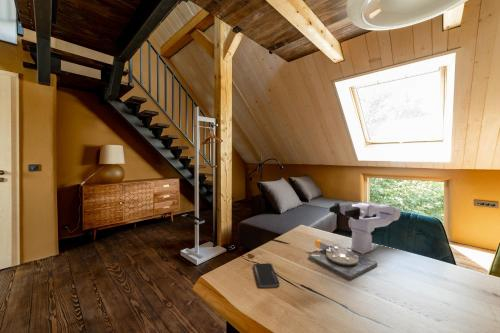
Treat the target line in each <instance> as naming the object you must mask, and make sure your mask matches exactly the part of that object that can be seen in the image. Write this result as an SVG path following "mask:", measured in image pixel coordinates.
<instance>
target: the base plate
mask: <svg viewBox="0 0 500 333" xmlns="http://www.w3.org/2000/svg"><path fill="white" fill-rule="evenodd" d="M334 247H338V248H342V249H345V248H343V247H342V246H339V245H337V244H335V245H332V248H334ZM354 253H355V252H354ZM355 254H357V255H358V256H359V261H358V263H357V264H356V265H351V266H347V265H340V264H337V263H334V262H332V261H330V260H329V259H328V258H327V257H326V251H324V250H322V249H320V250H318V251H316V252H312V253H310V254H308V259H310V260H311V261H312V262H315V263H317V264H319V265H320V266H322V267H323V268H326V269H327V270H330V271H331V272H333V273H335V274H337V275H339V276H341V277H342V278H345V279H347V280H348V281H351V280H353V279H355V278H357V277H358V276H360V275H362V274H365V273H367V272H368V271H370V270H371V269H373V268H376V267H378V262H377V261H375V260H372V259H369V258H368V257H365V256H364V255H360V254H359V253H355Z"/></svg>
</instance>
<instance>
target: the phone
mask: <svg viewBox="0 0 500 333" xmlns="http://www.w3.org/2000/svg"><path fill="white" fill-rule="evenodd" d="M252 267H253V271H254V276H255V279H256V283H257V288H259V289H269V288H271V289H272V288H279V287H280V281H279V278H278V277H277V274H276V271H275V269H274V266H273V264H272V263H269V262H268V263H267V262H266V263H254V264H253V266H252Z"/></svg>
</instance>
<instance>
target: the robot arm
mask: <svg viewBox="0 0 500 333" xmlns="http://www.w3.org/2000/svg"><path fill="white" fill-rule="evenodd" d="M401 211H402V210H401V208H400V207H398V206H397V207H396V206H393V205H387V204H383V203H379V204H378V203H377V202H375V201H371V202H366V203H363V202H358V203H355V204H354V203H353V202H351V201H348V202H347V203H346V204H341V203H340V202H335V203H334V204H333V205H332V206H330V207H329V213H334V214H335V215H337V216H339V215H340V213H341V214H342V215H344V217H347V218H349V219H348V226H349V229H350V231H352V232H351V245H349V246H348V247H347V248H348V249H351V250H352V251H355V252H357V253H358V254H359V253H360V254H362V255H363V254H367V253H368V252H371V251H373V250H374V248H373V247H372V243H373V235H372V234H371V233H372V232H374V230H375V228H376V229H377V228H381V227H382V228H383V227H388V226H389V225H390V224H391V223H393V221H394V222H395V221H398V220H399V219H400V217H401V214H402V213H401ZM374 215H376V216H375V217H373V216H374ZM365 216H367V217H365ZM364 217H365V218H364Z"/></svg>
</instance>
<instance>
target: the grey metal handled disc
mask: <svg viewBox="0 0 500 333" xmlns="http://www.w3.org/2000/svg"><path fill="white" fill-rule="evenodd" d="M332 246H333V245H332V244H330V243H328V242H326V241H323V240H321V239H319V238H317V239H315V240H314V247H315V248H317V249H319V250H324V251H326V257H327V258H328V259H329V260H330V261H332V262H334V263H337V264H340V265H347V266H351V265H356V264H357V263H358V261H359V256H358V255H359V254H358V253H356V254H355V252H353V250H352V249H349V248H348V249H346V248H344V249H342V248H343V247H342V248H338V247H334V248H332ZM357 254H358V255H357Z"/></svg>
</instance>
